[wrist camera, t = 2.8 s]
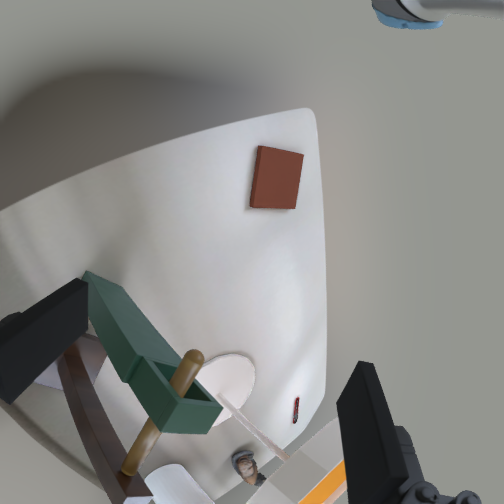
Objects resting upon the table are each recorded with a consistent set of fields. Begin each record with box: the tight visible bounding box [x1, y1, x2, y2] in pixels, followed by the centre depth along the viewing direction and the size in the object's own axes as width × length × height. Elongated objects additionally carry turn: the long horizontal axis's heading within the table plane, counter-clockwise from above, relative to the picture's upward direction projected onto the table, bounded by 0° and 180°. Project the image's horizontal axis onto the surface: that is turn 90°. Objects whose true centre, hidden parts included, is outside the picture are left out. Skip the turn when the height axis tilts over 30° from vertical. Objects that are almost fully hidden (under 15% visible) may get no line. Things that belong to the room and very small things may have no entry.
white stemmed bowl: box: [195, 354, 347, 504], centre depth 49 cm, size 30×30×31 cm
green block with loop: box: [82, 271, 224, 434], centre depth 30 cm, size 3×6×25 cm, turn 50°
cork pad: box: [250, 146, 304, 209], centre depth 53 cm, size 10×10×1 cm
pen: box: [293, 397, 299, 423], centre depth 86 cm, size 2×14×1 cm, turn 4°
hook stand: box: [33, 333, 204, 504], centre depth 29 cm, size 22×10×25 cm, turn 140°
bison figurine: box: [232, 451, 266, 486], centre depth 73 cm, size 12×7×10 cm, turn 12°
